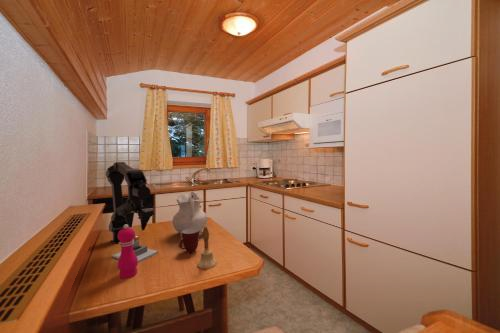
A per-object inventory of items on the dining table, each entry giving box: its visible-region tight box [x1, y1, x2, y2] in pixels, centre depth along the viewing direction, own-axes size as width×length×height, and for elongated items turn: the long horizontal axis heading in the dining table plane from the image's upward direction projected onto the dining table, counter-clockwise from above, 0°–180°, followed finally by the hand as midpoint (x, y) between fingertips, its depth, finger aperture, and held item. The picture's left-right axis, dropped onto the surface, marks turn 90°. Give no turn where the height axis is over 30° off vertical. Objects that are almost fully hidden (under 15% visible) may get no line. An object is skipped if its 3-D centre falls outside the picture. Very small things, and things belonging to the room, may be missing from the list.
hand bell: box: [196, 226, 218, 270], centre depth 100 cm, size 8×8×16 cm
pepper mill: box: [116, 224, 139, 279], centre depth 92 cm, size 7×7×20 cm
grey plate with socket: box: [112, 244, 159, 264], centre depth 110 cm, size 16×12×4 cm
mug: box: [178, 228, 200, 254], centre depth 112 cm, size 10×8×10 cm
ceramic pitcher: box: [172, 191, 208, 238], centre depth 135 cm, size 22×20×25 cm
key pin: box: [133, 234, 140, 250], centre depth 110 cm, size 3×3×8 cm
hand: (136, 228), depth 113 cm, fingers open, 9 cm apart
